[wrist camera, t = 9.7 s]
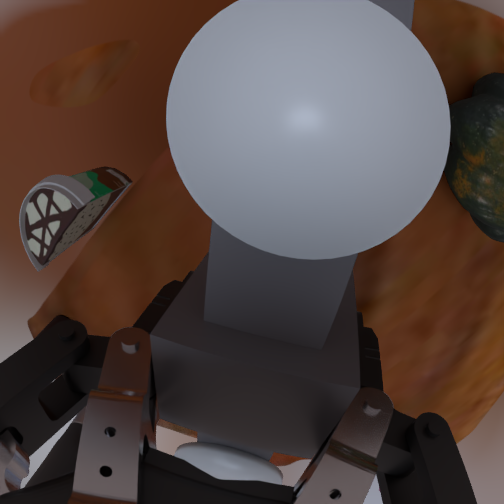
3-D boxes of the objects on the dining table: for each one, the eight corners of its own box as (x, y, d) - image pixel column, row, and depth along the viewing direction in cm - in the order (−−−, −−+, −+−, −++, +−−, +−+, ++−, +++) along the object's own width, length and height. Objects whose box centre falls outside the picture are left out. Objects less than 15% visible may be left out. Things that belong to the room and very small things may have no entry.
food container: (107, 132, 30) (41, 152, 22) (140, 173, 32) (80, 204, 23) (60, 200, 36) (5, 231, 27) (88, 235, 37) (36, 274, 28)
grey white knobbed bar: (258, -7, 8) (189, -92, 3) (408, 23, 7) (485, -40, 2) (205, 414, 19) (173, 491, 13) (281, 433, 18) (261, 515, 13)
